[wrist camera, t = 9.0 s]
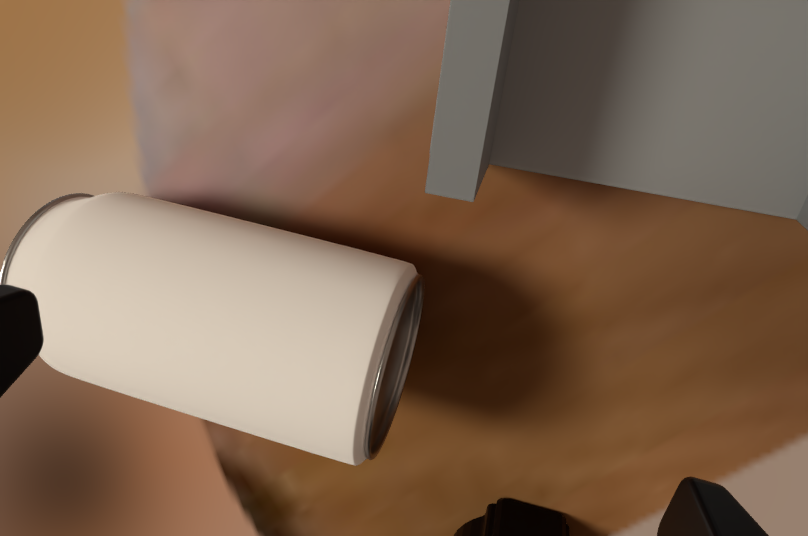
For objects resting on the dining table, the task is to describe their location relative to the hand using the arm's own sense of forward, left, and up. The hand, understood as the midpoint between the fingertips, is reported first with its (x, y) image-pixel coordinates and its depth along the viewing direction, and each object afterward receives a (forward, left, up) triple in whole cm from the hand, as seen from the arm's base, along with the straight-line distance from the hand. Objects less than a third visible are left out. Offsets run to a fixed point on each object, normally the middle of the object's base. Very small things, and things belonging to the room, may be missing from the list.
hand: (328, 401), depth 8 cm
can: (-6, 0, -9) cm, 10 cm away
